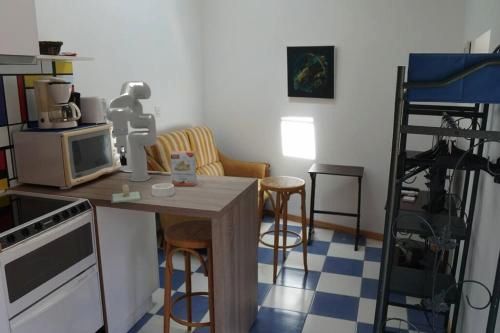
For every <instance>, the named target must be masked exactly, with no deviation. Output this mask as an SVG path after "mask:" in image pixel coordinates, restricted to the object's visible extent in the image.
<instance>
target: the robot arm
mask: <svg viewBox="0 0 500 333" xmlns="http://www.w3.org/2000/svg"><path fill="white" fill-rule="evenodd" d="M151 96H152V91H151V87H150V86H149V85H148V84H147V82H145V81H142V80H141V81H139V80H137V81H126V82H124V83H123V84H122V86H121V89H120V93H119V95H118V96H116V97H114V98H113V99H111V101H109V103H108V105H107V108H106V111H105V112H106V113H105V116H106V119H107V120H108V121H109V122H110V123H111V122H112V128H113V130H112V131H113V136H114V137H115V145H116V153H117V155H119V163H120V167H125V166H128V159H127V153H128V146H129V150H130V159H131V173H132V174H131V175H132V176H131V177H130V178H129V179H130V181H131V182H145V181H149V180H151V176H149V173H148V162H147V151H146V150H145V148H144V147H146V146H149V147H150V146H155V145H156V143H157V124H156V117H155V114H153V113H150V112H149V113H146V112H145V113H144V111H143V105H142V103H141V101H139V100H149V99H150V98H151ZM128 122H129V124H128ZM129 126H130V128H131V129H135V130H132V131H130V132H129ZM137 129H139V130H137ZM141 129H142V130H141ZM143 129H144V130H143ZM146 129H147V130H146ZM128 144H129V145H128ZM143 146H144V147H143Z"/></svg>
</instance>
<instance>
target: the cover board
mask: <svg viewBox="0 0 500 333" xmlns="http://www.w3.org/2000/svg"><path fill="white" fill-rule="evenodd" d="M121 188H122V192H121V193H120V192H119V193H112V196H113V203H112V204H115V203H116V202H117V203H125V201H126V202H133V201H134V200H135V201H142V200H141V198H140V195H139V193H140V192H139V191H131V192H130V188H129V184H123V185H122V187H121Z"/></svg>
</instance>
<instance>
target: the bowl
mask: <svg viewBox="0 0 500 333" xmlns="http://www.w3.org/2000/svg"><path fill="white" fill-rule="evenodd" d="M151 195H152V196H153V197H155V198H164V197H165V198H166V197H172V196H174V195H175V186H174V185H173V184H172V183H167V182H165V183H164V182H163V183H155V184H153V185H151Z"/></svg>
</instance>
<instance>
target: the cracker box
mask: <svg viewBox="0 0 500 333" xmlns="http://www.w3.org/2000/svg"><path fill="white" fill-rule="evenodd" d="M170 165H171V166H170V167H171V171H170V172H171V184H173V185H174V187H195V186H196V185H197V162H196V151H195V150H192V151H191V150H190V151H189V150H186V151H185V150H172V151H171V152H170Z"/></svg>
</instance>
